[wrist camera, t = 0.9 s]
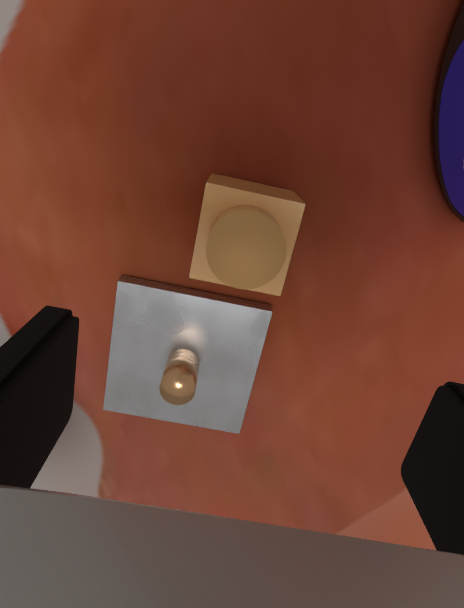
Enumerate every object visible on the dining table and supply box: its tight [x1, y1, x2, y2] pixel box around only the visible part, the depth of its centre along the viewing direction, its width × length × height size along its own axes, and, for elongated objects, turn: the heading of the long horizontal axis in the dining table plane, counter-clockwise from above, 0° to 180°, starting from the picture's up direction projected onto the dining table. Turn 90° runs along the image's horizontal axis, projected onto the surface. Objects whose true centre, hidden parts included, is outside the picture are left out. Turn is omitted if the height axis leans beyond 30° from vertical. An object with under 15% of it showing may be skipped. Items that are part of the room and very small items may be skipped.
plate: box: [103, 275, 272, 434], centre depth 28 cm, size 10×10×4 cm
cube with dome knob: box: [189, 173, 306, 296], centre depth 23 cm, size 5×5×7 cm
